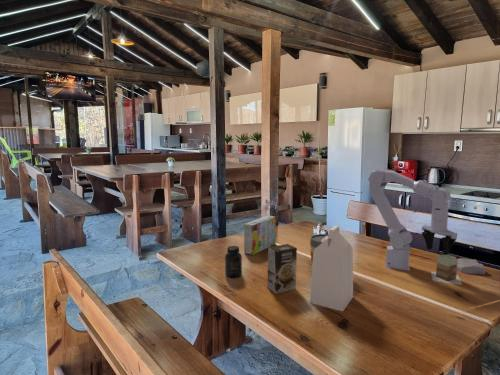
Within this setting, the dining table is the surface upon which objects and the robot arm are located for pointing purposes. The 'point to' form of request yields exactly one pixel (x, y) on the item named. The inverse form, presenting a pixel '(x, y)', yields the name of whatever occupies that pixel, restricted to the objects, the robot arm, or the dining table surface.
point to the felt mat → (456, 281)
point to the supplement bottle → (233, 262)
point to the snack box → (259, 235)
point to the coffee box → (282, 268)
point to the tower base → (446, 275)
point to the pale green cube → (446, 260)
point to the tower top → (446, 268)
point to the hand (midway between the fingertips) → (437, 251)
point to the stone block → (470, 266)
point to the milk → (332, 272)
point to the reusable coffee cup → (316, 242)
